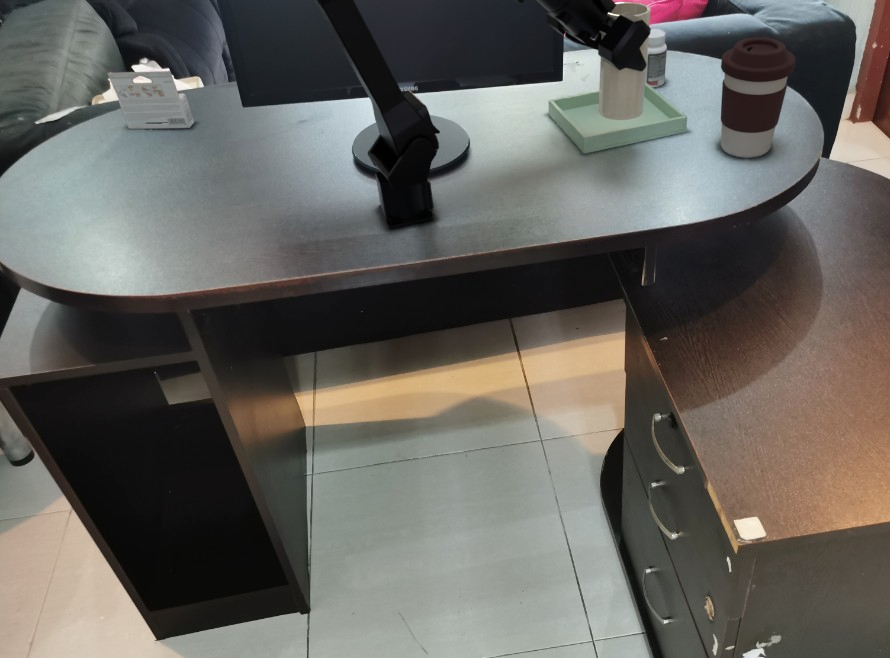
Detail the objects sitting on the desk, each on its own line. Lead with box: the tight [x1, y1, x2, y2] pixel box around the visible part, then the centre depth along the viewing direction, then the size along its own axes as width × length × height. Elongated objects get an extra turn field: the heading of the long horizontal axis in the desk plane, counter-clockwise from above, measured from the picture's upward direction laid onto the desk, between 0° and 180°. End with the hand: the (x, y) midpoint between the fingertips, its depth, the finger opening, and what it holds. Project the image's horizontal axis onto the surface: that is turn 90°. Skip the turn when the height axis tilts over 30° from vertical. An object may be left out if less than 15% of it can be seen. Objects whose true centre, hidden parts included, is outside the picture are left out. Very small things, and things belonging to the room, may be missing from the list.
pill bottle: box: [645, 28, 668, 89], centre depth 141 cm, size 5×5×8 cm
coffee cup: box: [720, 36, 796, 159], centre depth 119 cm, size 10×10×15 cm
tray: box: [548, 82, 688, 154], centre depth 132 cm, size 17×15×2 cm
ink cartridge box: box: [106, 70, 195, 130], centre depth 138 cm, size 2×11×10 cm, turn 85°
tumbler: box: [598, 1, 652, 120], centre depth 116 cm, size 6×6×14 cm
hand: (630, 60), depth 116 cm, fingers closed on tumbler, 6 cm apart
